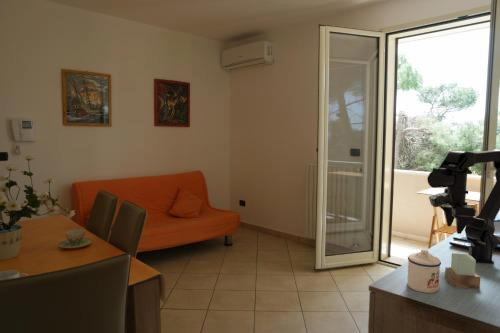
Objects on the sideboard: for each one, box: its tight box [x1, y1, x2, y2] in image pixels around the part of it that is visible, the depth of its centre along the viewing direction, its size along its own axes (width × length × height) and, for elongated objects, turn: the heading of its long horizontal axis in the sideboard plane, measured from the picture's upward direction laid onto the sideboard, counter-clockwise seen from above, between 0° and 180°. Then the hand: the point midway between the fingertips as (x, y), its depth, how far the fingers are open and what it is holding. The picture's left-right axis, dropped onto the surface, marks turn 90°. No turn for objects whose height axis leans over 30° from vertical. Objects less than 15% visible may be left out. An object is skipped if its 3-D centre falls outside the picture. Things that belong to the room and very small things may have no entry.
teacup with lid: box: [406, 249, 442, 294], centre depth 109 cm, size 12×9×12 cm
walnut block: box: [444, 266, 481, 290], centre depth 111 cm, size 7×7×4 cm
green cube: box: [450, 252, 477, 276], centre depth 110 cm, size 5×5×5 cm
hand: (453, 229), depth 126 cm, fingers open, 9 cm apart
